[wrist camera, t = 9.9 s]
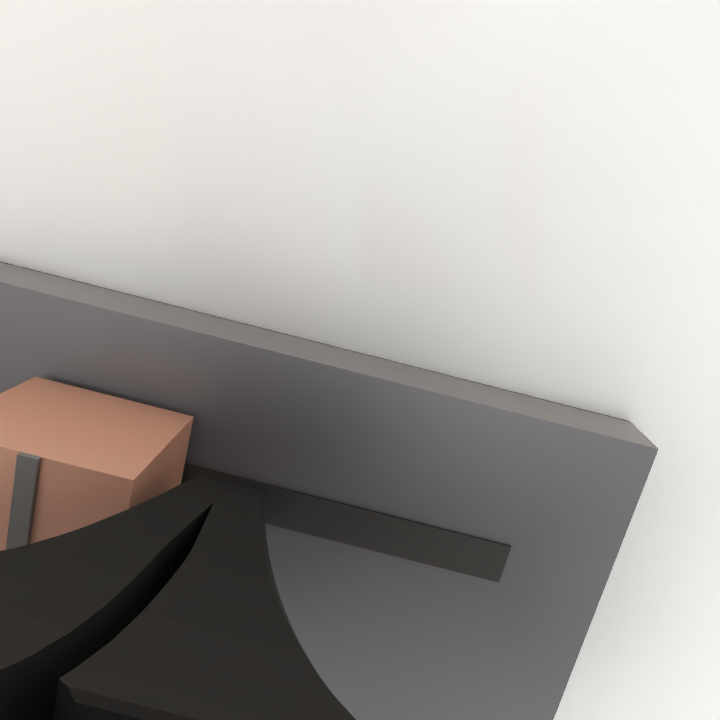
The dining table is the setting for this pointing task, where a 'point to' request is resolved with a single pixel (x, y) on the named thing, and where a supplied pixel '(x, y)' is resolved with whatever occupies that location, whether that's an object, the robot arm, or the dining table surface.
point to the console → (372, 493)
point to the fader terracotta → (80, 458)
